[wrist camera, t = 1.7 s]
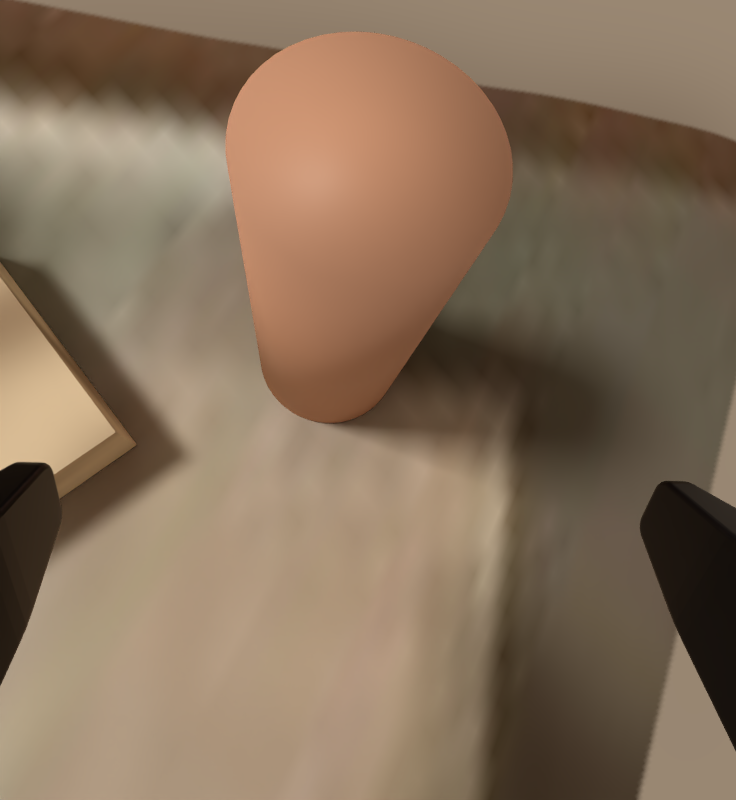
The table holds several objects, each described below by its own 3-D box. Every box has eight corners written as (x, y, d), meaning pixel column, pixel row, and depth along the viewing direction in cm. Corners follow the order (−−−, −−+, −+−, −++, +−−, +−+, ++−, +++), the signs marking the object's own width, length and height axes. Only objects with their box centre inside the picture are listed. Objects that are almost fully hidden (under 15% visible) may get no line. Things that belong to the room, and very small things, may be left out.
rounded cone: (395, 425, 21) (519, 295, 10) (256, 420, 21) (214, 273, 9) (395, 299, 23) (506, 50, 11) (264, 289, 22) (236, 14, 10)
